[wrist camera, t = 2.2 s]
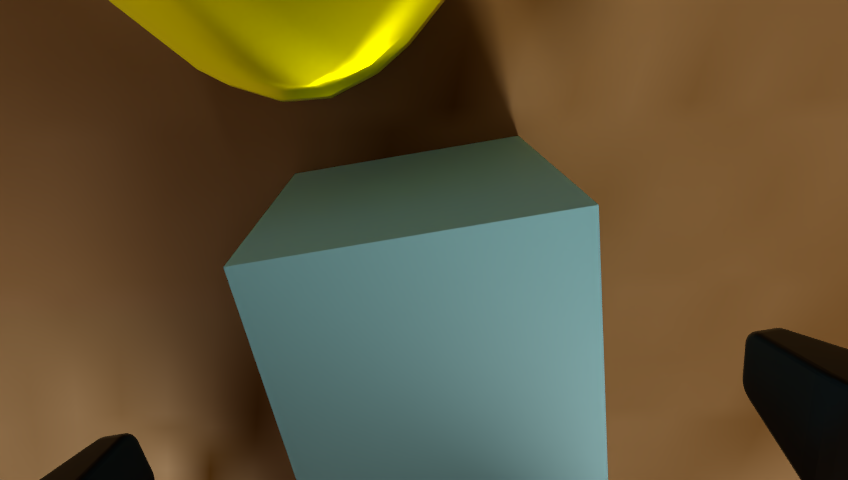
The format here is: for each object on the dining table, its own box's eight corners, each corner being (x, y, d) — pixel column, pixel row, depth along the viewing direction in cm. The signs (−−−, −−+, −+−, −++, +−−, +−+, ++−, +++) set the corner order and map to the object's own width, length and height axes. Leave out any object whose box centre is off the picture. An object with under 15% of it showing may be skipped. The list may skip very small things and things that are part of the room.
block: (535, 327, 13) (608, 486, 9) (344, 358, 13) (314, 530, 9) (517, 135, 11) (599, 204, 7) (295, 172, 11) (223, 266, 7)
